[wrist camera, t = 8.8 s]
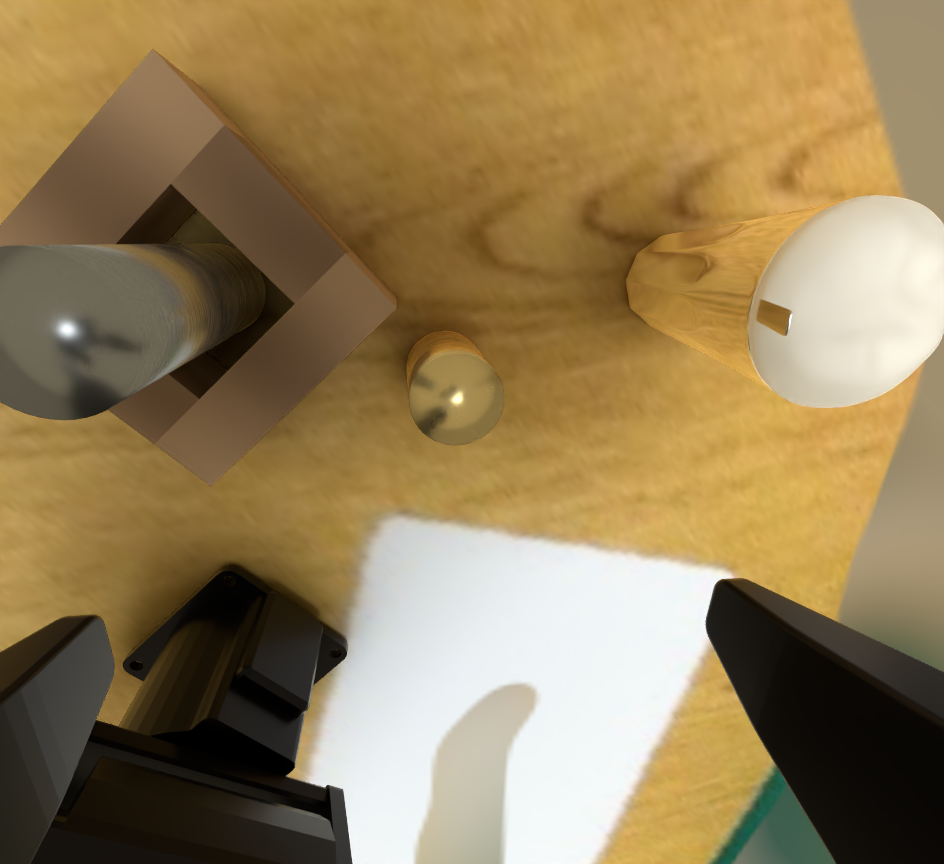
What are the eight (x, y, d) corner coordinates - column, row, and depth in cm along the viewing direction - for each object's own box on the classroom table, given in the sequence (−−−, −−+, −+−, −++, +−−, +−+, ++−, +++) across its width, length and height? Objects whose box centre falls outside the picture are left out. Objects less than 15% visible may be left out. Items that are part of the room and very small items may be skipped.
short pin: (442, 419, 19) (454, 462, 15) (389, 367, 18) (389, 399, 14) (497, 370, 19) (522, 402, 15) (447, 314, 18) (461, 333, 14)
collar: (238, 449, 18) (211, 486, 16) (25, 280, 16) (-55, 288, 13) (396, 297, 17) (396, 308, 15) (199, 85, 14) (152, 48, 12)
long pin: (227, 349, 17) (70, 451, 9) (155, 285, 16) (-100, 333, 8) (284, 291, 17) (176, 341, 8) (213, 223, 16) (12, 203, 7)
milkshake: (593, 211, 17) (823, 178, 8) (735, 216, 18) (1096, 191, 9) (580, 343, 19) (758, 442, 10) (711, 342, 20) (995, 434, 10)
